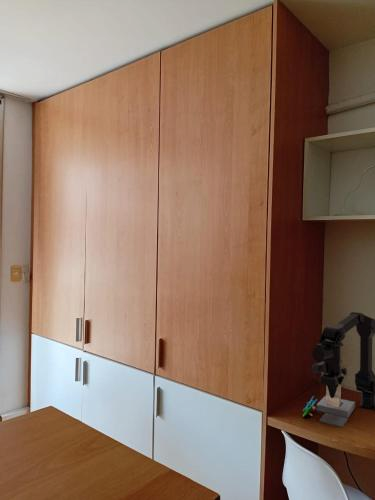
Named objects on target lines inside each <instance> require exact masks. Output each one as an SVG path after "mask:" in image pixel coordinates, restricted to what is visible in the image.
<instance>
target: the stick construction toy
mask: <svg viewBox="0 0 375 500" xmlns="http://www.w3.org/2000/svg"><path fill="white" fill-rule="evenodd" d="M314 399H315V400H314ZM317 402H318V399H317V398H316V397H315V396H314V395H312V397H311V399H310V400H309V401H307V402H306V406H305V407H304V408H303V409H302V411H303V412H304V413H303V415H302V417H303V418H305V417H306V416H308V415H309V416H310V417H312V418H314V414H313V413H311V412H310V411H311V410H313V411H316V412H317V413H318V415H322V413H323V412H322V411H318V410H317V407H316V406H314V405H315V404H316V403H317Z"/></svg>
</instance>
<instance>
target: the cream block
mask: <svg viewBox="0 0 375 500" xmlns="http://www.w3.org/2000/svg"><path fill="white" fill-rule="evenodd" d="M325 385H326V384H325ZM341 386H342V384H341V385H340V384H339V385H338V388H337V390H336V393H335V396H334V398H331V397H330V394H329V390H328V387H327V385H326V386H325V387H326V390H325V391H326V392H325V393H326V394H325V396H326V405H328V406H332V407H337V408H338V407H339V406H340V404H341V399H342V398H341V395H342V392H341V391H342V389H341Z"/></svg>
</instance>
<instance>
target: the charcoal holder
mask: <svg viewBox="0 0 375 500" xmlns="http://www.w3.org/2000/svg"><path fill="white" fill-rule="evenodd" d="M355 408H356V402H355V401H352V400H348V399H342V398H341V404H340V406H339V407H338V408H337V407H332V406H328V405H326V395H324V397H322V398H321V399H320V401H319V402H317V404H316V409H317V410H318V411H320V412H321V413H328V414H332V415H337V416H341V417H345V418H348V419H349V417H350V416H351V414H352V412H353V411H354V410H355Z"/></svg>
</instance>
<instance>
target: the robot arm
mask: <svg viewBox="0 0 375 500" xmlns="http://www.w3.org/2000/svg"><path fill="white" fill-rule="evenodd" d="M354 327H355V329H356V333H357V334H358V336H359V338H360V339H359V342H360V343H359V344H360V346H359V370H358V372H356V373H355V374H354V377H355V378H354V385H355V388H356V391H357V392H360V393H361V402H360V403H359V407H361V408H365V409H370V410H375V373H374V371H373V338H374V336H375V318H372V317H370V316H368V315H365V314H364V313H362V312H356V311H351V312H350V313H349V314H348V315H347V316H346V317H344V318H343V319H342V320H340V321H339V322H338V323H334V324H330V325H327V326H325V327H324V328H323V330H322V333H321V336H320V337H319V340H318V343H316V345H315V347H314V348H313V349H312V351H311V354H312V355H311V356H312V358H313V360H314V361H315V362H316V363H313V364H312V366H311V371H312V373H313V374H314V375H315V374H318V373H323V374H322V375H321V376H320V377H319V381H318V382H319V384H323V385H327V387H328V390H329V394H330V397H331V398H334V396H335V393H336V390H337V388H338V385H339V384H340V385H341V386H342V383H343V381H344V380H345V376H347V374H348V371H347V369H346V367H345V366H342V363H343V360H342V352H341V351H342V349H341V348H342V347H344V343H342V342H343V341H344V339H345V338H346V334H347V333H348V332H350V331H351V330H352V329H353V328H354ZM342 374H343V375H342Z"/></svg>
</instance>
